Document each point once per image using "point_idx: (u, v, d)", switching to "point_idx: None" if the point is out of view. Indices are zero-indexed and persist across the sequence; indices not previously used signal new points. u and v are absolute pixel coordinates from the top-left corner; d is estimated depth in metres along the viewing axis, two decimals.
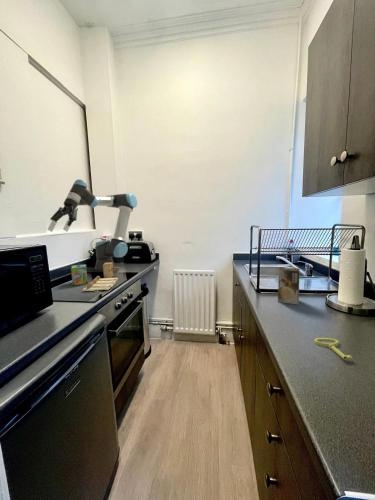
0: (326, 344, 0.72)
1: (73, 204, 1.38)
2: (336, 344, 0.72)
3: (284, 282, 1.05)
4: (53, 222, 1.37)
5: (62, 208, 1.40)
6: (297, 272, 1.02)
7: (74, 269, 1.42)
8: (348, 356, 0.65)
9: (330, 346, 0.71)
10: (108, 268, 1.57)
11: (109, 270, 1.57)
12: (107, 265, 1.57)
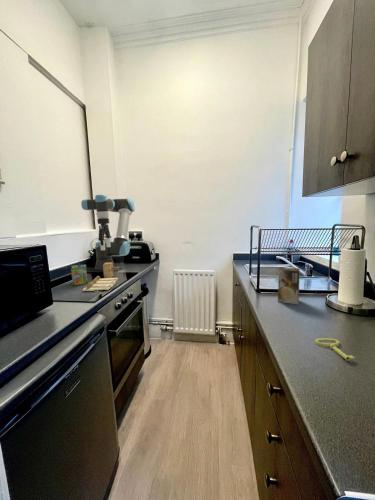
0: (327, 345, 0.72)
1: (100, 222, 1.51)
2: (337, 344, 0.72)
3: (284, 282, 1.05)
4: (107, 239, 1.63)
5: None
6: (297, 272, 1.02)
7: (74, 269, 1.42)
8: (350, 356, 0.65)
9: (331, 347, 0.71)
10: (108, 268, 1.57)
11: (109, 270, 1.57)
12: (107, 265, 1.57)
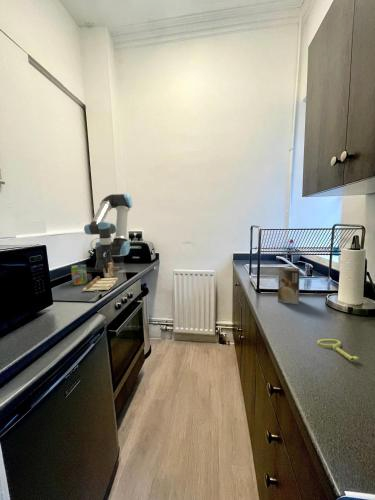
0: (330, 346, 0.71)
1: (103, 250, 1.53)
2: (339, 345, 0.72)
3: (284, 282, 1.05)
4: None
5: None
6: (297, 272, 1.02)
7: (74, 269, 1.42)
8: (355, 357, 0.65)
9: (334, 347, 0.70)
10: None
11: (109, 270, 1.57)
12: None
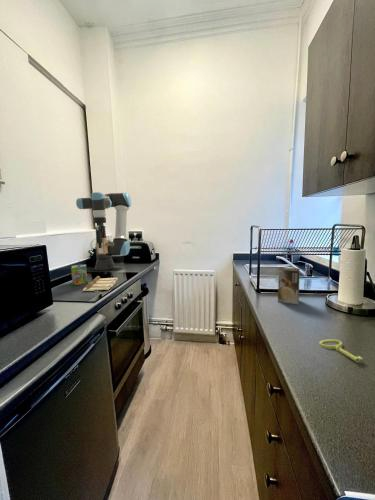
0: (332, 346, 0.71)
1: (96, 222, 1.42)
2: (341, 345, 0.72)
3: (284, 282, 1.05)
4: None
5: None
6: (297, 272, 1.02)
7: (74, 269, 1.42)
8: (359, 357, 0.65)
9: (337, 348, 0.70)
10: None
11: (103, 245, 1.46)
12: None
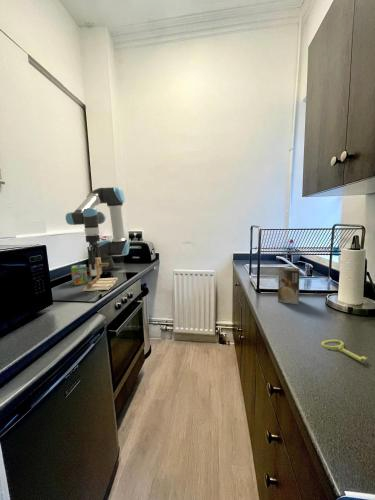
0: (335, 347, 0.70)
1: (89, 242, 1.27)
2: (343, 345, 0.72)
3: (284, 282, 1.05)
4: None
5: None
6: (297, 272, 1.02)
7: (74, 269, 1.42)
8: (363, 357, 0.64)
9: (340, 349, 0.69)
10: None
11: (96, 266, 1.31)
12: None
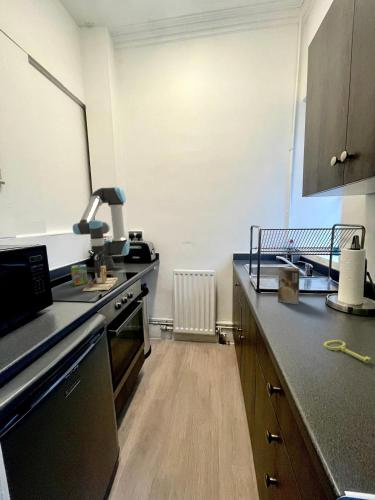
0: (338, 348, 0.70)
1: (95, 252, 1.36)
2: (345, 346, 0.71)
3: (284, 282, 1.05)
4: None
5: None
6: (297, 272, 1.02)
7: (74, 269, 1.42)
8: (367, 358, 0.64)
9: (343, 350, 0.69)
10: None
11: (102, 274, 1.40)
12: None
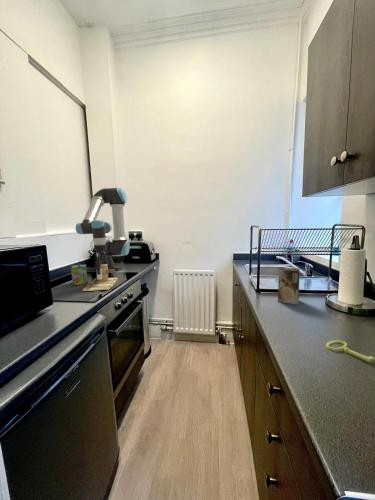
0: (341, 348, 0.70)
1: (97, 250, 1.41)
2: None
3: (284, 282, 1.05)
4: None
5: None
6: (297, 272, 1.02)
7: (74, 269, 1.42)
8: (371, 357, 0.64)
9: (346, 350, 0.69)
10: (102, 270, 1.44)
11: (103, 273, 1.44)
12: (101, 267, 1.44)
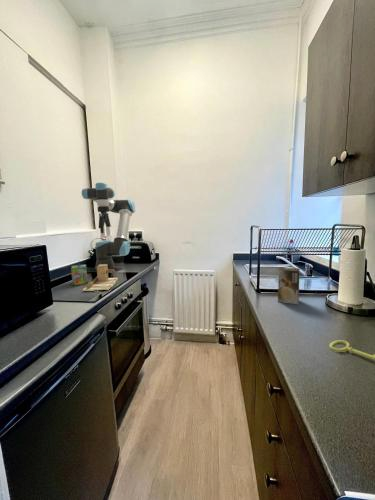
0: (345, 349, 0.69)
1: (101, 210, 1.51)
2: (349, 345, 0.71)
3: (284, 282, 1.05)
4: (107, 228, 1.64)
5: None
6: (297, 272, 1.02)
7: (74, 269, 1.42)
8: None
9: (351, 350, 0.68)
10: (102, 270, 1.44)
11: (103, 273, 1.44)
12: (101, 267, 1.44)
